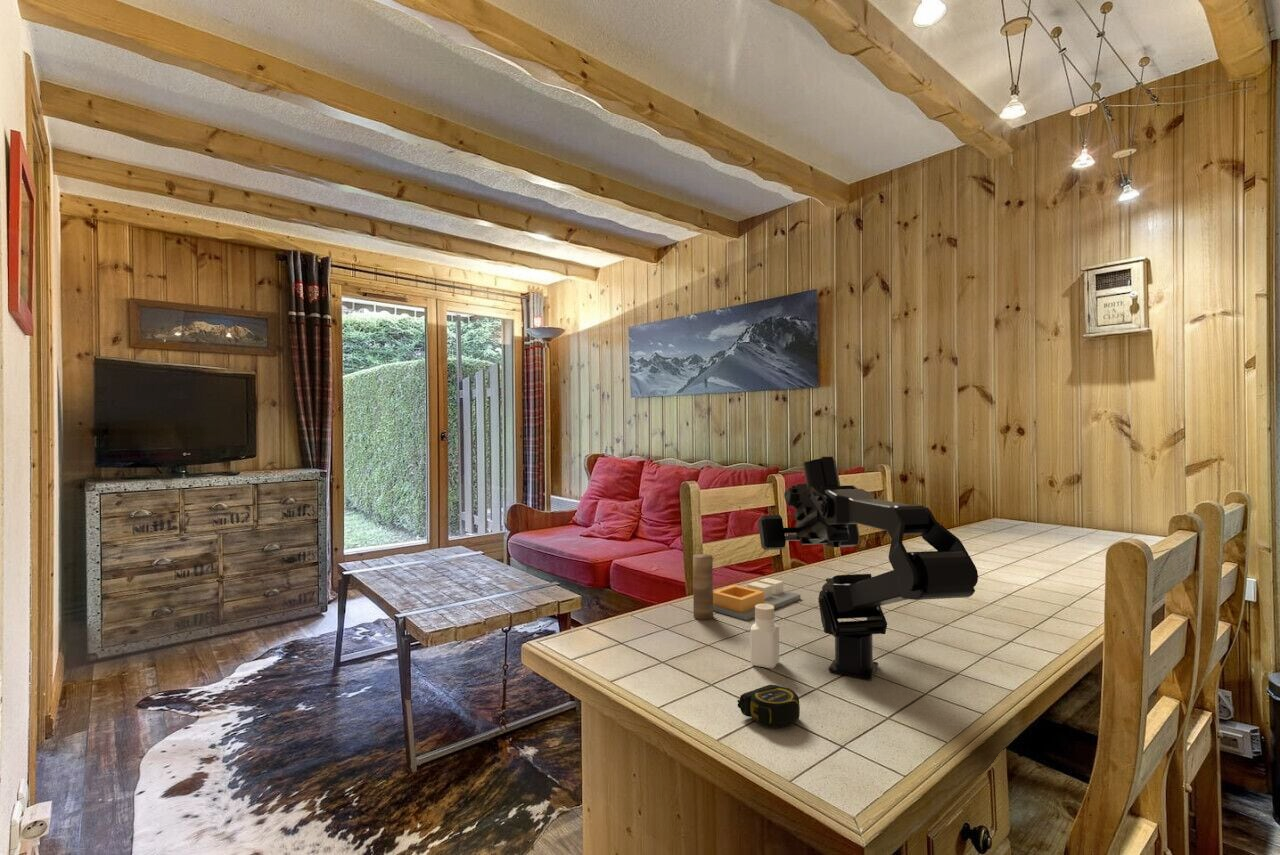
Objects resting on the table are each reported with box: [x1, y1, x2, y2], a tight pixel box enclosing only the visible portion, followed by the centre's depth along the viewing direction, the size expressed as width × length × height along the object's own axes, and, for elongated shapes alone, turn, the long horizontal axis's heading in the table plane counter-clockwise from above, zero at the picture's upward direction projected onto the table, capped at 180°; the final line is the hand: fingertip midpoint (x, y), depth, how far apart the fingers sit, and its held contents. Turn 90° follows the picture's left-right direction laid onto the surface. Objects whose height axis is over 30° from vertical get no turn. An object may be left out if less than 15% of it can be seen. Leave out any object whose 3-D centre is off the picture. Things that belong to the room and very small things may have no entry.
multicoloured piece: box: [713, 577, 801, 621], centre depth 130 cm, size 20×12×4 cm, turn 134°
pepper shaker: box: [750, 604, 780, 669], centre depth 98 cm, size 4×4×10 cm
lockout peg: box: [692, 553, 714, 621], centre depth 121 cm, size 4×4×12 cm
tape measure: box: [736, 684, 801, 728], centre depth 80 cm, size 7×7×4 cm
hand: (794, 540), depth 121 cm, fingers open, 9 cm apart
